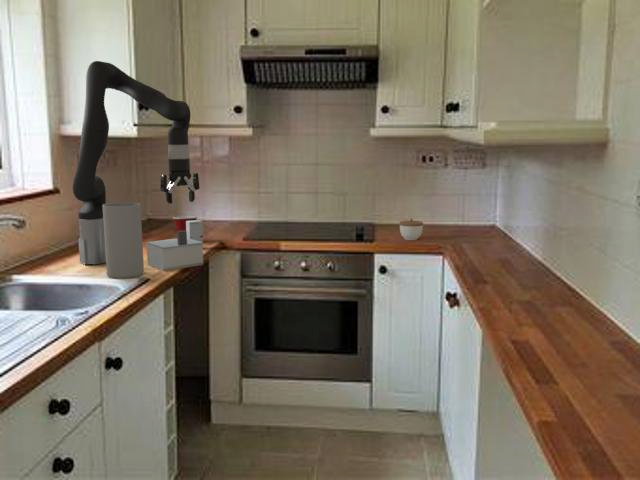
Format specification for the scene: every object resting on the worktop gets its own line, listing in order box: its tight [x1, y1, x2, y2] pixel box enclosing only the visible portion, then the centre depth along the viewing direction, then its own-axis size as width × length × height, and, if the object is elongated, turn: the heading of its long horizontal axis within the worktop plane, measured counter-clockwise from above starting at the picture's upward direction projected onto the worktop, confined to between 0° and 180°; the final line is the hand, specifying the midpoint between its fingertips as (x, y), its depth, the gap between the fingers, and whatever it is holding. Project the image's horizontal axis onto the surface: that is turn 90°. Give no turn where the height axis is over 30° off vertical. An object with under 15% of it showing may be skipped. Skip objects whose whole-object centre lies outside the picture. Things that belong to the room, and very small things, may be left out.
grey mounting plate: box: [145, 230, 204, 249], centre depth 241 cm, size 16×14×6 cm
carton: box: [145, 243, 204, 272], centre depth 242 cm, size 16×14×8 cm
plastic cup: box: [172, 216, 198, 232], centre depth 288 cm, size 11×11×12 cm
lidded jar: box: [398, 218, 424, 241], centre depth 295 cm, size 11×11×9 cm
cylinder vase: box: [103, 201, 145, 279], centre depth 225 cm, size 12×12×25 cm
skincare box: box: [186, 219, 204, 243], centre depth 273 cm, size 6×4×12 cm
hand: (180, 202), depth 234 cm, fingers open, 8 cm apart
